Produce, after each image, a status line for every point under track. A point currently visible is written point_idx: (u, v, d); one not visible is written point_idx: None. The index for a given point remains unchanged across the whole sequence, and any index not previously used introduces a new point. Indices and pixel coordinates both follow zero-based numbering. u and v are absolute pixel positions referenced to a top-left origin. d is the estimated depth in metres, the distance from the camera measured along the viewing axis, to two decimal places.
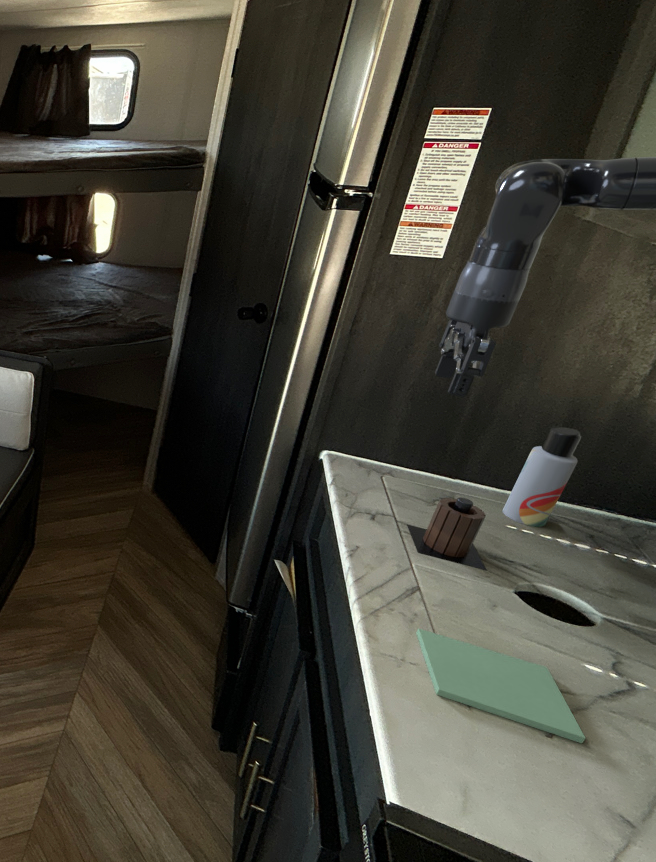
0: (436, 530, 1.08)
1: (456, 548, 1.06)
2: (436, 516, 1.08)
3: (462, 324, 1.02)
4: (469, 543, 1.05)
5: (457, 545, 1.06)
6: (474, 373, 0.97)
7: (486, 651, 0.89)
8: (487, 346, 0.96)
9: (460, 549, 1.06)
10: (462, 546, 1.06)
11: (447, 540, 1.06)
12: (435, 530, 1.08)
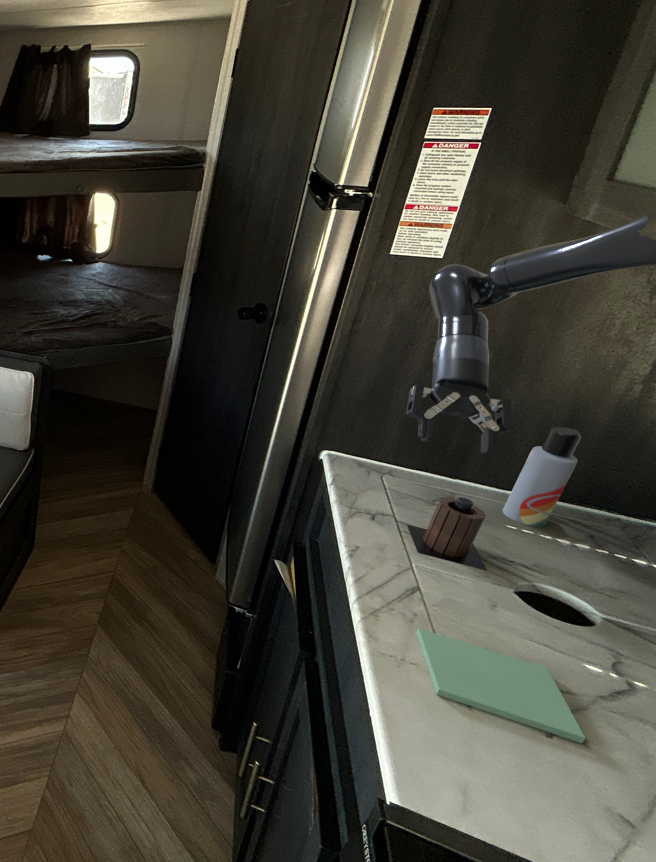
0: (436, 530, 1.08)
1: (456, 548, 1.06)
2: (436, 516, 1.08)
3: None
4: (469, 543, 1.05)
5: (457, 545, 1.06)
6: (410, 411, 1.16)
7: (486, 651, 0.89)
8: (415, 389, 1.17)
9: (460, 549, 1.06)
10: (462, 546, 1.06)
11: (447, 540, 1.06)
12: (435, 530, 1.08)
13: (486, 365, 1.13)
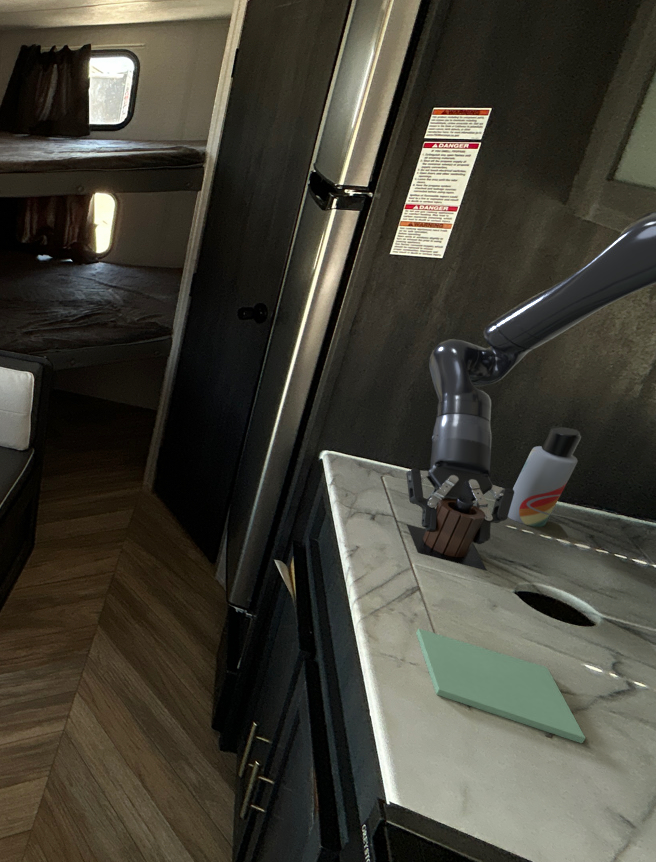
0: (436, 530, 1.08)
1: (455, 548, 1.06)
2: None
3: None
4: (469, 543, 1.05)
5: (457, 545, 1.06)
6: (412, 498, 1.11)
7: (486, 651, 0.89)
8: (412, 474, 1.12)
9: (460, 549, 1.06)
10: (462, 546, 1.06)
11: (447, 540, 1.06)
12: (435, 530, 1.08)
13: (487, 447, 1.08)
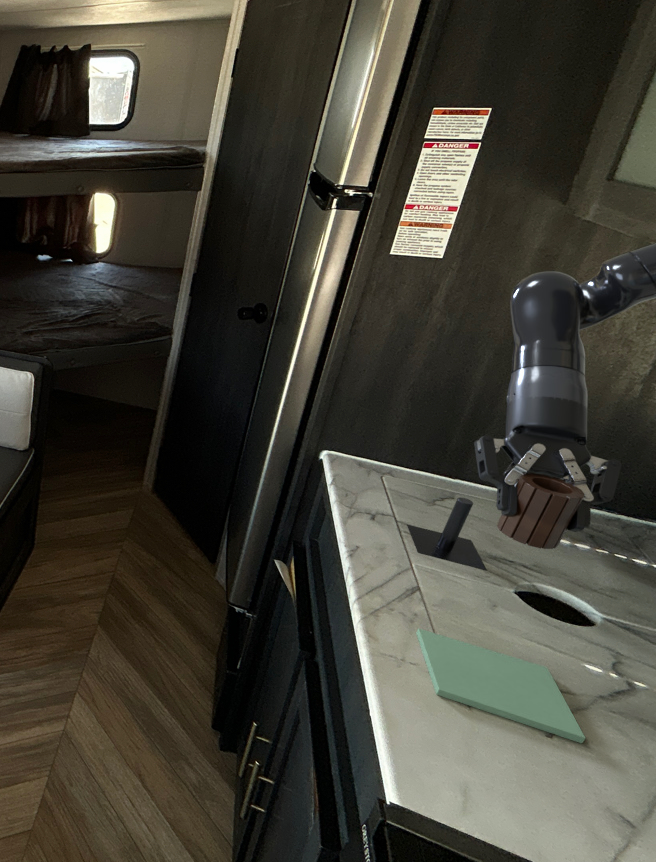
0: (517, 514, 0.83)
1: (543, 537, 0.82)
2: None
3: None
4: (562, 530, 0.81)
5: (546, 533, 0.82)
6: (484, 473, 0.86)
7: (486, 651, 0.89)
8: (482, 443, 0.88)
9: (549, 538, 0.82)
10: (552, 534, 0.81)
11: (532, 527, 0.82)
12: (515, 514, 0.84)
13: (583, 408, 0.83)
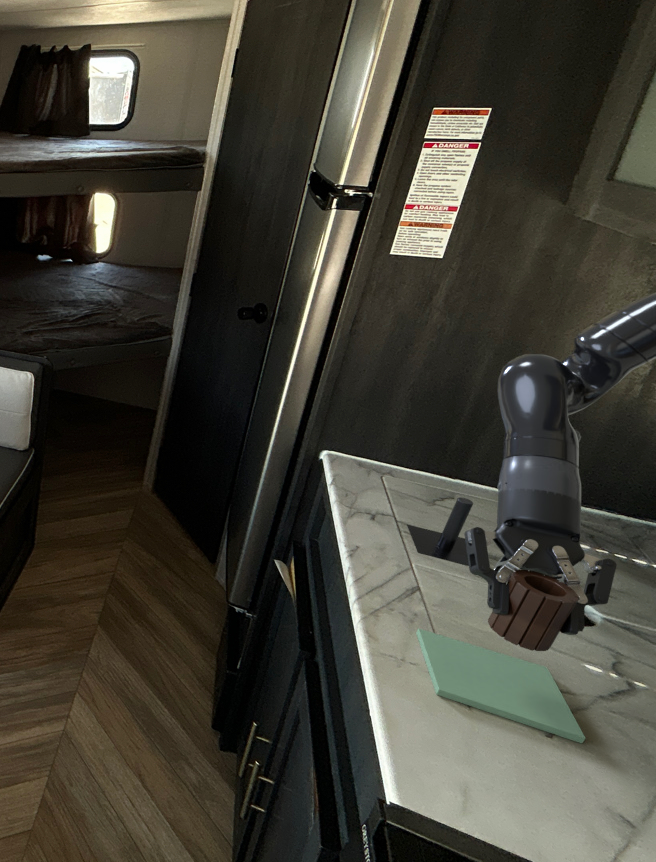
0: (508, 613, 0.80)
1: (536, 639, 0.79)
2: None
3: None
4: (555, 633, 0.78)
5: (538, 636, 0.78)
6: (474, 568, 0.83)
7: (486, 651, 0.89)
8: (473, 535, 0.84)
9: (542, 641, 0.79)
10: (545, 637, 0.78)
11: (524, 628, 0.79)
12: None
13: (577, 503, 0.80)
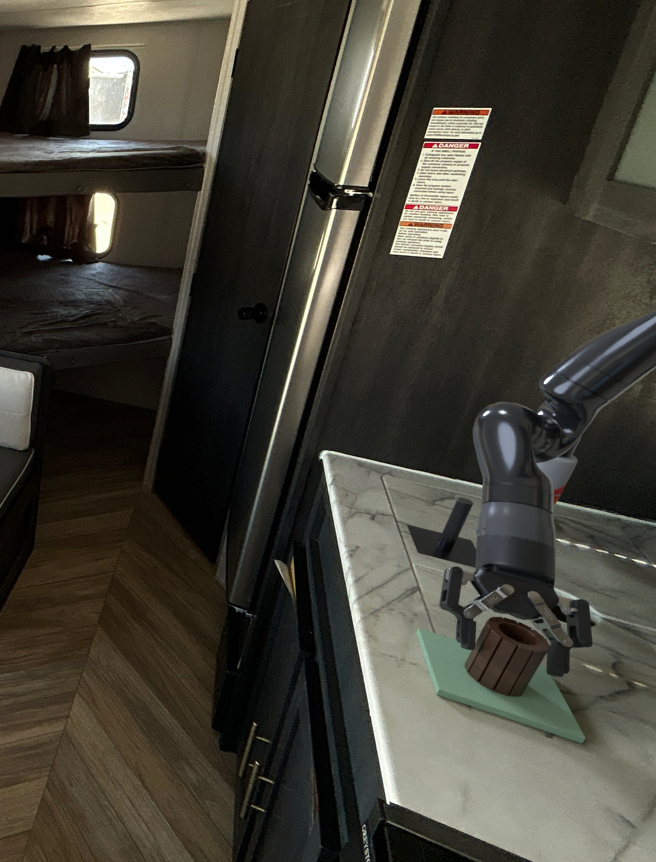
0: (483, 660, 0.83)
1: (509, 685, 0.82)
2: (483, 641, 0.84)
3: None
4: (527, 680, 0.81)
5: (511, 682, 0.82)
6: (444, 604, 0.87)
7: None
8: (451, 573, 0.88)
9: (515, 687, 0.82)
10: (518, 684, 0.81)
11: (498, 675, 0.82)
12: (482, 659, 0.84)
13: (551, 550, 0.83)
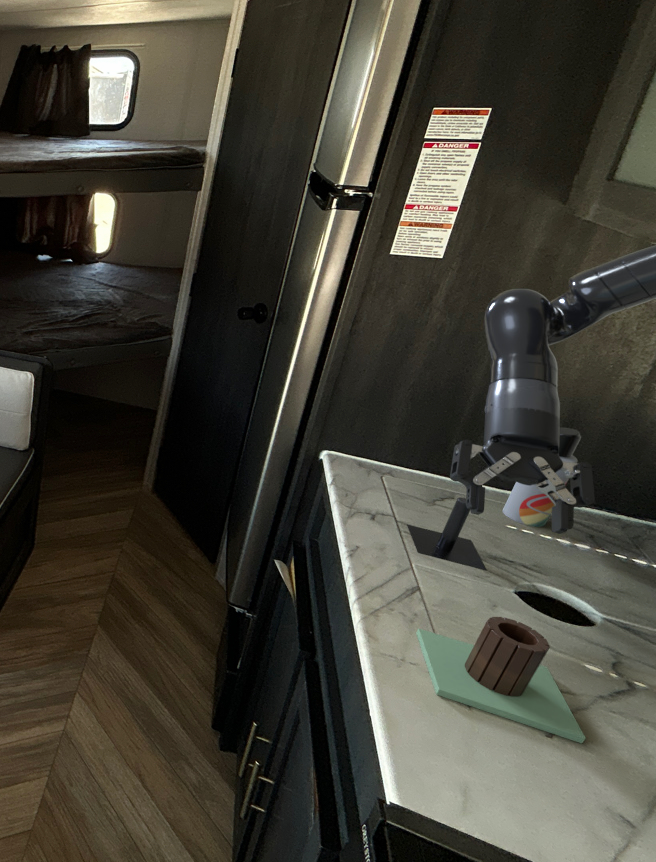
0: (483, 660, 0.83)
1: (509, 685, 0.82)
2: (483, 641, 0.84)
3: None
4: (527, 680, 0.81)
5: (511, 682, 0.82)
6: (454, 474, 0.92)
7: None
8: None
9: (515, 687, 0.82)
10: (518, 684, 0.81)
11: (498, 675, 0.82)
12: (482, 659, 0.84)
13: (555, 418, 0.89)
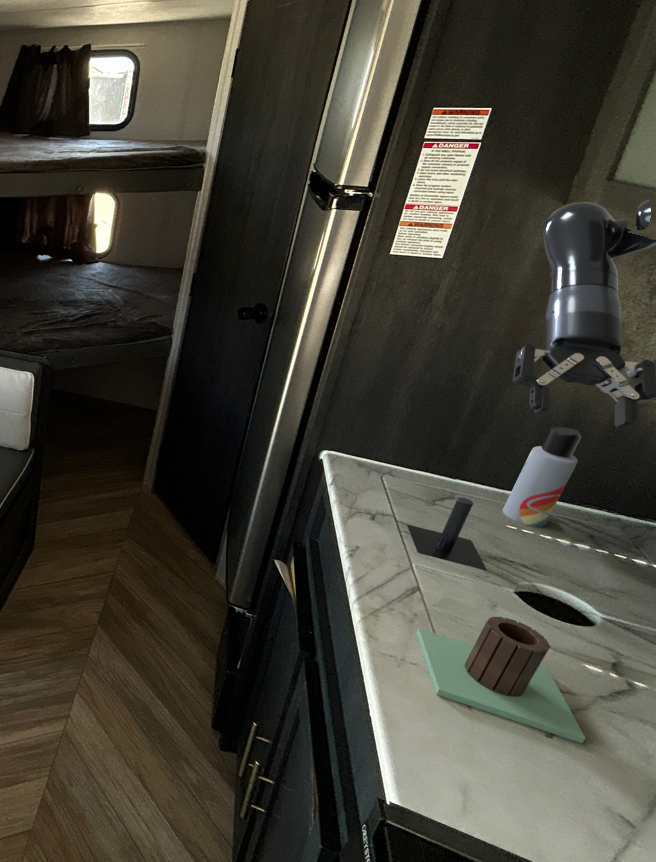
0: (483, 660, 0.83)
1: (509, 685, 0.82)
2: (483, 641, 0.84)
3: None
4: (527, 680, 0.81)
5: (511, 682, 0.82)
6: (518, 377, 0.95)
7: None
8: (524, 351, 0.96)
9: (515, 687, 0.82)
10: (518, 684, 0.81)
11: (498, 675, 0.82)
12: (482, 659, 0.84)
13: (618, 320, 0.92)
